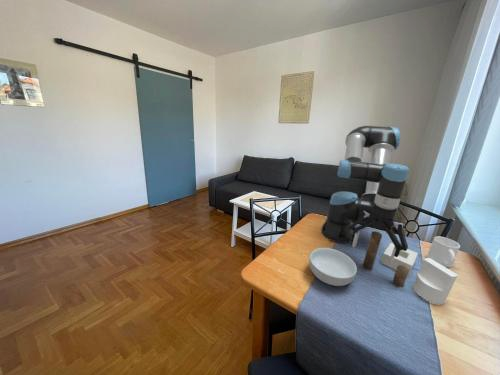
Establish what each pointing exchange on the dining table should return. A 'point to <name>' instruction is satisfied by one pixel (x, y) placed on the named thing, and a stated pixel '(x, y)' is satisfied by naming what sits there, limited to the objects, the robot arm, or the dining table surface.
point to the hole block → (399, 258)
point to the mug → (443, 251)
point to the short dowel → (400, 276)
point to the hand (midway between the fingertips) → (371, 253)
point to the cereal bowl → (332, 266)
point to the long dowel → (372, 250)
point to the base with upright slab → (434, 281)
